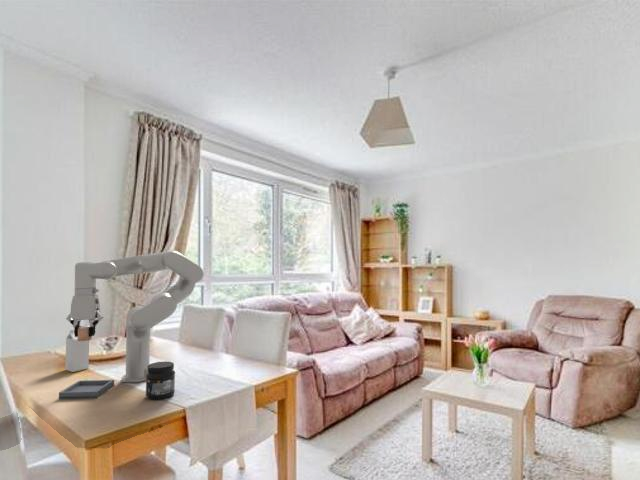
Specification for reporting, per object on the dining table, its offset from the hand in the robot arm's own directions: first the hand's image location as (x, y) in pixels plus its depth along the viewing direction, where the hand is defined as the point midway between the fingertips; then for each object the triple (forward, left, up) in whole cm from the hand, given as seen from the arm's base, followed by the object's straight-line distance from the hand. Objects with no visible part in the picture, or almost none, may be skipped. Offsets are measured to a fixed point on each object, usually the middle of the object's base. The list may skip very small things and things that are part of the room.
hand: (84, 335), depth 159 cm
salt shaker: (0, 0, -2) cm, 2 cm away
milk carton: (+16, -26, -21) cm, 38 cm away
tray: (-5, +6, -21) cm, 22 cm away
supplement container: (-35, +12, -21) cm, 42 cm away
